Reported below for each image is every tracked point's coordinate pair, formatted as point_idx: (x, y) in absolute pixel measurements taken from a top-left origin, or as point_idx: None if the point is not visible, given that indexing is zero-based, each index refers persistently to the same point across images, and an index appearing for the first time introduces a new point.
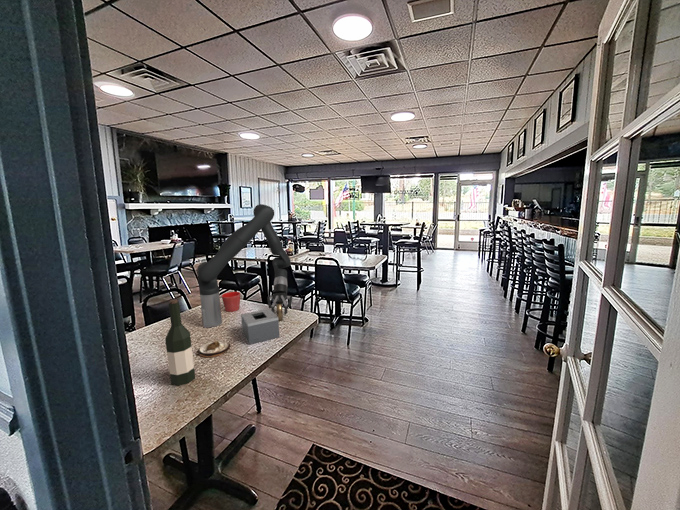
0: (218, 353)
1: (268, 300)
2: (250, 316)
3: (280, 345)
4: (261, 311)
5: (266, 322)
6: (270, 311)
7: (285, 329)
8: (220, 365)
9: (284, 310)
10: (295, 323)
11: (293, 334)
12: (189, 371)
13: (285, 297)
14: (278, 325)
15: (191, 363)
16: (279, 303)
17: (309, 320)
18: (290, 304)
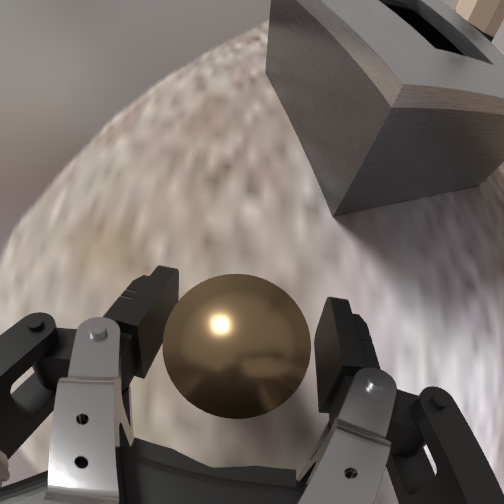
0: None
1: (485, 485)
2: (476, 41)
3: (263, 31)
4: (453, 63)
5: None
6: (360, 23)
7: (215, 145)
8: None
9: (161, 286)
10: (115, 230)
11: (182, 83)
12: (455, 10)
13: (17, 496)
14: (271, 11)
15: (459, 1)
16: (222, 400)
17: (19, 255)
18: (25, 319)
